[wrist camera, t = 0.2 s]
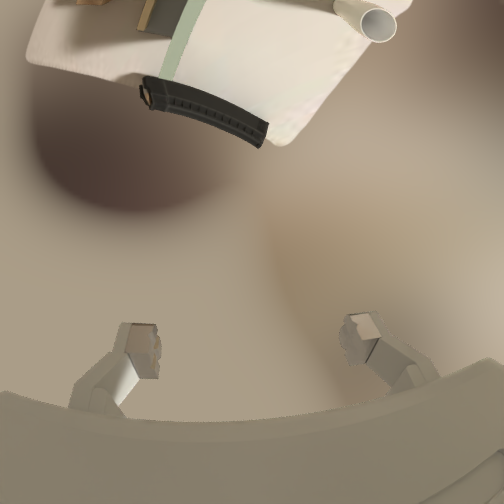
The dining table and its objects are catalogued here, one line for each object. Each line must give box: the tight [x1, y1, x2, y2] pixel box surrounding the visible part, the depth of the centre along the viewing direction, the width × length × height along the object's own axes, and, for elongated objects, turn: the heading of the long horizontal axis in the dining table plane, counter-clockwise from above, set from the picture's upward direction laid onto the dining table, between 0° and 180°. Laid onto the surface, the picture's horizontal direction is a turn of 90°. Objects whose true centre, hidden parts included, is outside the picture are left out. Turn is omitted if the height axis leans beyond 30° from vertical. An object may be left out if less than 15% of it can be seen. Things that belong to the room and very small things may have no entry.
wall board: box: [136, 0, 206, 81], centre depth 27 cm, size 10×18×21 cm, turn 155°
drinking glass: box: [333, 0, 397, 43], centre depth 32 cm, size 7×7×15 cm
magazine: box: [139, 76, 269, 148], centre depth 53 cm, size 17×3×30 cm
